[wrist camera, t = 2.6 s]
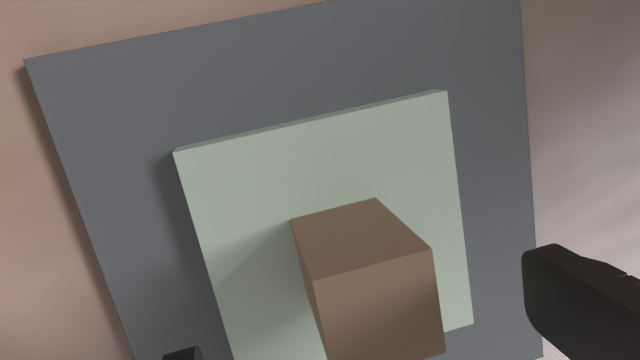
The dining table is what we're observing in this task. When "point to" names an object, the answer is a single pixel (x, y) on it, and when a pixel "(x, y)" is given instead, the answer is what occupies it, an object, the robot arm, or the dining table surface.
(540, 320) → the robot arm
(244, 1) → the dining table surface
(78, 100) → the mat
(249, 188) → the lid
